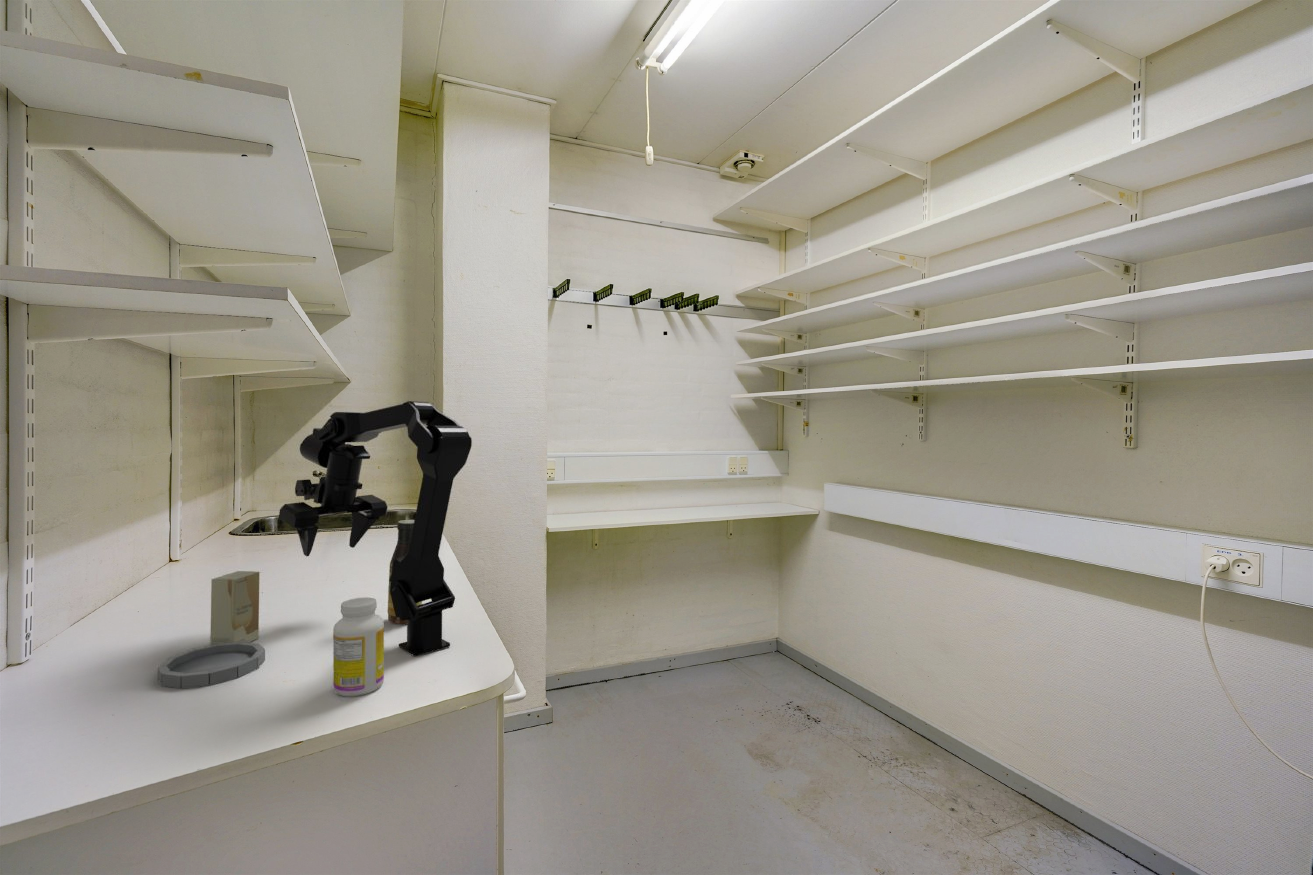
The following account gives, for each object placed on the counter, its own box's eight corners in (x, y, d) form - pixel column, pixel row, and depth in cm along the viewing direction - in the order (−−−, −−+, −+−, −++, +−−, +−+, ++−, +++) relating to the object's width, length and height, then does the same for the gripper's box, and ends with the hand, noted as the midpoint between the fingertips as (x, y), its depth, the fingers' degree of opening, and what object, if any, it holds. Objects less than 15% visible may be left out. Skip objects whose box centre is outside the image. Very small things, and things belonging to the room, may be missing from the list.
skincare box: (234, 651, 98) (234, 579, 98) (208, 650, 98) (209, 579, 98) (260, 637, 104) (261, 570, 104) (237, 636, 104) (237, 569, 104)
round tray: (274, 668, 91) (274, 657, 91) (167, 696, 82) (167, 683, 81) (251, 646, 100) (251, 636, 100) (152, 669, 90) (152, 657, 90)
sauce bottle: (380, 623, 113) (381, 522, 112) (403, 613, 118) (404, 517, 118) (407, 627, 110) (408, 524, 110) (429, 617, 116) (430, 519, 116)
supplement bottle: (371, 674, 90) (372, 592, 90) (392, 686, 86) (392, 601, 85) (325, 688, 85) (325, 602, 84) (344, 703, 80) (345, 611, 80)
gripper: (361, 461, 123) (349, 529, 125) (268, 465, 106) (256, 544, 108) (395, 477, 118) (381, 548, 120) (303, 484, 101) (289, 566, 103)
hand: (329, 551), depth 113 cm, fingers open, 9 cm apart
